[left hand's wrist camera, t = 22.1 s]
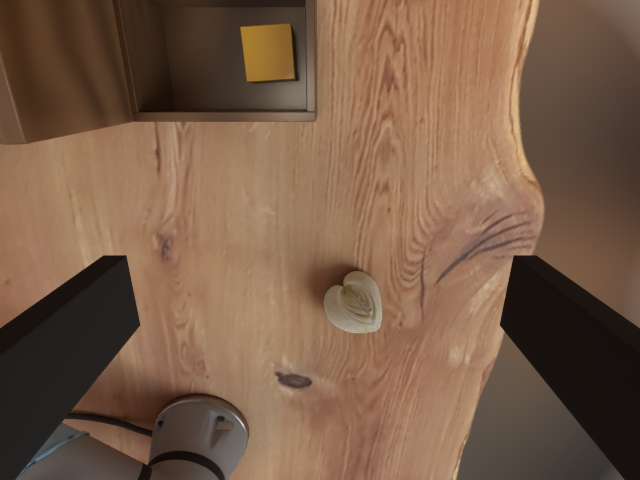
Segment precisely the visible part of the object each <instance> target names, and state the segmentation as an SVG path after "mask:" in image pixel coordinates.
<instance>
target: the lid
mask: <svg viewBox="0 0 640 480" xmlns="http://www.w3.org/2000/svg"><path fill="white" fill-rule="evenodd" d="M130 122H133V116H132V110H131V104H130V99H129V93H128V87H127V82H126V76H125V70H124V65H123V59H122V53H121V48H120V42H119V36H118V31H117V25H116V19H115V14H114V8H113V2H112V0H0V142H1V144H4V145H7V144H29V143H33V142H38V141H43V140H48V139H53V138H58V137H62V136H67V135H72V134H77V133H82V132H87V131H91V130H96V129H101V128H106V127H111V126H115V125H120V124H125V123H130Z"/></svg>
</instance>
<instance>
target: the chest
mask: <svg viewBox="0 0 640 480" xmlns="http://www.w3.org/2000/svg"><path fill="white" fill-rule="evenodd" d="M112 2H113V8H114V14H115V19H116V25H117V31H118V36H119V42H120V48H121V53H122V59H123V65H124V70H125V76H126V82H127V87H128V93H129V99H130V104H131V110H132V116H133V122H220V121H316V118H317V0H112ZM286 23H291V25H292V28H293V30H294V32H295V45H296V58H297V72H298V81H289V82H273V83H258V84H255V83H250V82H247V78H246V70H245V62H244V54H243V45H242V37H241V29H240V27H243V26H258V25H272V24H286Z"/></svg>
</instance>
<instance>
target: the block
mask: <svg viewBox="0 0 640 480" xmlns="http://www.w3.org/2000/svg"><path fill="white" fill-rule="evenodd" d="M240 29H241V37H242V45H243V54H244V62H245V70H246V78H247V82H250V83H255V84H258V83H273V82H289V81H298V72H297V58H296V45H295V32H294V30H293V28H292V25H291V23H286V24H272V25H258V26H243V27H240Z"/></svg>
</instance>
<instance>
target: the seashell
mask: <svg viewBox="0 0 640 480" xmlns="http://www.w3.org/2000/svg"><path fill="white" fill-rule="evenodd" d="M324 310H325V313H326V316H327V317H328V319H329V320H330V321H331V322H332V323H333V324H334V325H335V326H336V327H338V328H340V329H342V330H344V331H348V332H352V333H366V332H374V331H377V330H378V329H379V328H380V326H381V320H382V311H383V310H382V306H381V298H380V292H379V289H378V287H377V284H376V283H375V281H374V280H373V279H372V278H371V277H370V276H369V275H368V274H366V273H364V272H361V271H353V272H350V273H349V274H347V275H346V276H345V278H344V280H343V286H340V285H335V286H333V287H331V288H330V289H329V290H328V291H327V292H326V294H325V297H324Z"/></svg>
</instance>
